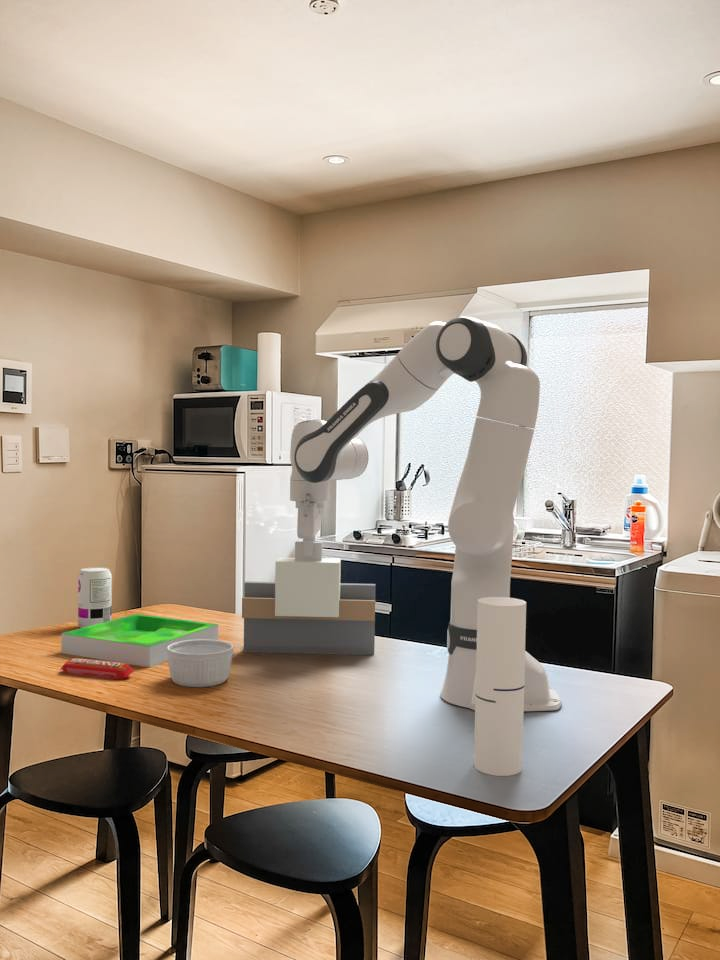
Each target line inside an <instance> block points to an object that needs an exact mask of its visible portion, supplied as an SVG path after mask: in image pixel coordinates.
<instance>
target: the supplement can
mask: <svg viewBox="0 0 720 960" xmlns="http://www.w3.org/2000/svg"><path fill="white" fill-rule="evenodd" d="M112 576H113V575H112V572H111V570H110V568H109V567H103V566H102V567H100V566H99V567H95V566H93V567H84V568H80V572H79V573H78V576H77V578H78V579H77V587H78V589H77V626H78V628H79V629H80V628H84V627H88V626H91V625H95V624H99V623H103V622H107V621H110V620H112V601H113V600H112V596H113V595H112V594H113V593H112V592H113V591H112V581H113V580H112V579H113V578H112Z"/></svg>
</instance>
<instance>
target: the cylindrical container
mask: <svg viewBox="0 0 720 960" xmlns="http://www.w3.org/2000/svg"><path fill="white" fill-rule="evenodd" d="M526 624H527V601H525V600H524V599H520V598H516V597H510V598H508V597H485V598H480V599H478V607H477V652H476V696H475V711H474V740H473V741H474V743H473V744H474V745H473V746H474V749H473V750H474V751H473V767H474V768H475V769H476V770H477V771H479V772H480V773H483V774H486V775H489V776H499V777H507V776H509V777H510V776H515V775H518V774H520V773H521V772H522V770H523V752H524V750H523V746H524V742H523V741H524V712H525V711H524V674H525V651H526V629H527V625H526Z"/></svg>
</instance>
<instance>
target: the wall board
mask: <svg viewBox="0 0 720 960" xmlns="http://www.w3.org/2000/svg"><path fill="white" fill-rule="evenodd" d="M243 588H244V589H243V592H244V593H243V594H244V595H243V597H242V598H241V619H243V653H269V654H270V653H271V654H274V653H275V654H309V655H311V654H316V655H320V654H321V655H353V656H354V655H355V656H356V655H357V656H359V655H360V656H361V655H363V656H375V646H376V645H375V644H376V643H375V636H376V626H375V624H376V583H351V582H349V583H346V582H344V583H343V582H340V601H339V617H304V616H275V581H250V580H249V581H248V580H247V581H244V586H243Z"/></svg>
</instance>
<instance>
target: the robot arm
mask: <svg viewBox="0 0 720 960" xmlns="http://www.w3.org/2000/svg"><path fill="white" fill-rule="evenodd" d="M391 359H392V360H391V361H389V362H388V364H387V365H386V366H384V367H383V369H382V370H381V371H380V372H378V374H377V375H375V377H374V378H372V379H371V380H369V381H368V382H367V383H366V384H365V385H364V386H362V387H361V388H360V389H359V390H357V392H355V394H354V395H352V396H351V397H350V398H349V399H348V400H347V401H346V402H345V403H344V404H343V405H342V406H341V407H339V409H338V410H337V411H335V413H334V414H333V415H332V416H331V417H330V418H329V419H328V420H327V421H326V420H324V419H311V420H310V419H309V420H303V421H300V422H298V423H297V424H295V425H294V427H293V430H292V434H291V439H290V449H289V450H290V452H289V453H290V454H289V457H290V464H291V474H290V477H289V501H290V502H295V508H296V509H297V518H296V519H297V522H296V523H297V526H296V535H297V536H296V537H297V538H298V539H301V540H303V541H302V542H303V543H304V555H305V556H312V554H313V542H316V536H317V534H318V532H319V531H320V530H321V526H322V522H323V521H322V520H323V513H324V508H325V502H329V501H330V500H331V499H330V498H331V497H330V494H331V493H330V491H331V490H330V486H331V485H330V481H342V480H351V479H354V478H358V477H360V476H361V475H363V473H364V472H365V471H366V469H367V466H368V464H369V450H368V447H367V446H366V444H365V443H364V441H363V440H361V439H360V438H359V437H357V436H358V435H359V434H360V433H362V431H363V430H365V428H367V427H368V426H369V425H371V423H373V422H375V421H377V420H380V419H382V418H385V417H388V416H392V415H396V414H401V413H406V412H410V411H414V410H416V409H418V408H419V407H421V406H422V405H424V404H425V403H426V402H427V401H429V400H430V399H431V398H432V397H433V396H434V395H435V394H436V393H437V391H438V390H439V389H440V388H441V387H442V386H443V385H444V383H446V382H447V380H448V379H449V378H451V376H452V375H454V374H456V375H458V376H459V377H461V378H463V379H464V380H466V381H468V382H470V383H471V382H472V383H473V382H475V383H476V384H477V385H478V387H479V390H480V400H479V404H478V408H477V412H476V417H475V421H474V426H473V429H472V433H471V438H470V441H469V442H470V443H469V445H468V446H469V447H468V452H467V456H466V458H465V459H466V460H465V462H464V465H463V469H462V472H461V474H460V477H459V478H460V479H459V482H458V485H457V488H456V490H455V491H456V492H455V495H454V498H453V502H452V505H451V510H450V513H449V517H448V523H447V531H448V535H449V537H450V540H451V541H452V544H454V545H455V550H454V559H453V571H452V576H451V581H450V582H451V584H450V585H451V586H450V587H451V589H450V591H451V592H450V621H449V622H448V627H447V630H446V631H447V634H446V636H447V637H446V648H447V653H448V658H447V664H446V672H445V677H444V682H443V685H442V689H441V690H440V691H441V692H440V697H441V699H442V700H444V702H447V703H449V704H451V705H455V706H458V707H463V708H468V709H470V710H473V711H474V712H475V696H476V652H477V607H478V599H480V598H485V597H508V598H511V574H512V559H513V544H514V528H515V527H514V525H515V518H514V516H515V515H514V512H515V511H514V510H515V505H516V503H517V499H518V497H519V496H518V495H519V491H520V487H521V485H522V481H523V476H524V474H525V470H526V466H527V462H528V458H529V454H530V449H531V446H532V442H533V436H534V432H535V427H536V423H537V419H538V412H539V405H540V404H539V403H540V396H541V395H540V394H541V391H540V390H541V382H540V381H541V380H540V379H539V376H538V375H537V373H536V372H535V371H534V370H533V369H531V368H529V367H527V365H528V364H527V363H528V352H527V350H526V348H525V346H524V344H523V342H521V340H520V339H519V338H518V337H517V336H515V335H514V334H512V333H510V332H507V331H505V330H503V329H502V328H500V327H499V326H497V325H496V324H493V323H490V322H487V321H484V320H480V319H479V318H476V317H472V316H460V317H459V316H458V317H456V318H453V319H450V320H449V321H447V322H443V321H433V322H431V323H429V324H428V325H426V326H424V328H422V329H420V331H418V332H417V333H416V334H415V335H414V336H412V337H411V339H410V340H409V341H407V343H406V344H405V345H404V346H403V347H402V348H401V349H400V350H399V351H398V353H397V354H395V356H394V357H393V358H391ZM561 707H562V699H561V695H559V693H558V692H557V691H556V690H555V689H553V688H552V687H550V684H549V678H548V674H547V671H546V669H545V668H544V666H543V664H541V662H539V661H538V660H537V659H536V658H535V657H533V656H532V655H531V654H530V653H529V652H528V651H526V650H525V674H524V712H544V711H558V710H559V709H560V708H561Z"/></svg>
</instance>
